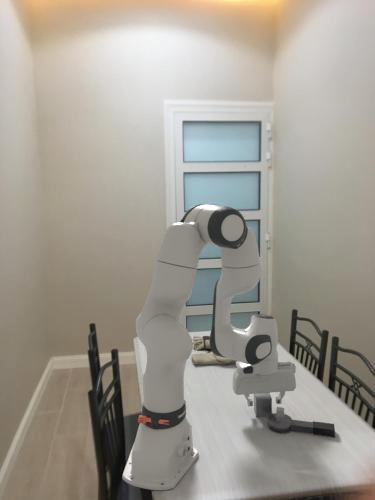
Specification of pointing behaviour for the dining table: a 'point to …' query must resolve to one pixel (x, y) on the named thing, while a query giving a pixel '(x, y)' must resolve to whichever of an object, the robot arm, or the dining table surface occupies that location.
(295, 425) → the ratchet
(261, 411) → the plain grey cube block
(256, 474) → the dining table surface
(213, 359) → the pair of gloves
